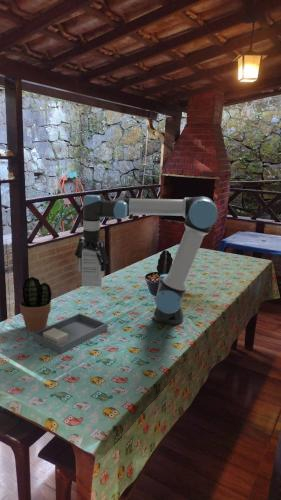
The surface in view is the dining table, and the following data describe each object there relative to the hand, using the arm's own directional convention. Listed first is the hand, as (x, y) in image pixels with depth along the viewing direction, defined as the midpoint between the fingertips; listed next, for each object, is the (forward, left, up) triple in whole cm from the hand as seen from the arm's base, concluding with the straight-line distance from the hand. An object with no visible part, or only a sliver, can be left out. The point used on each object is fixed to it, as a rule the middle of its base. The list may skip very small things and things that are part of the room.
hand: (90, 274), depth 171 cm
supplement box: (0, -1, -5) cm, 5 cm away
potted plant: (+15, +20, -25) cm, 36 cm away
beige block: (-3, +24, -24) cm, 34 cm away
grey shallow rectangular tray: (-3, +15, -25) cm, 29 cm away
